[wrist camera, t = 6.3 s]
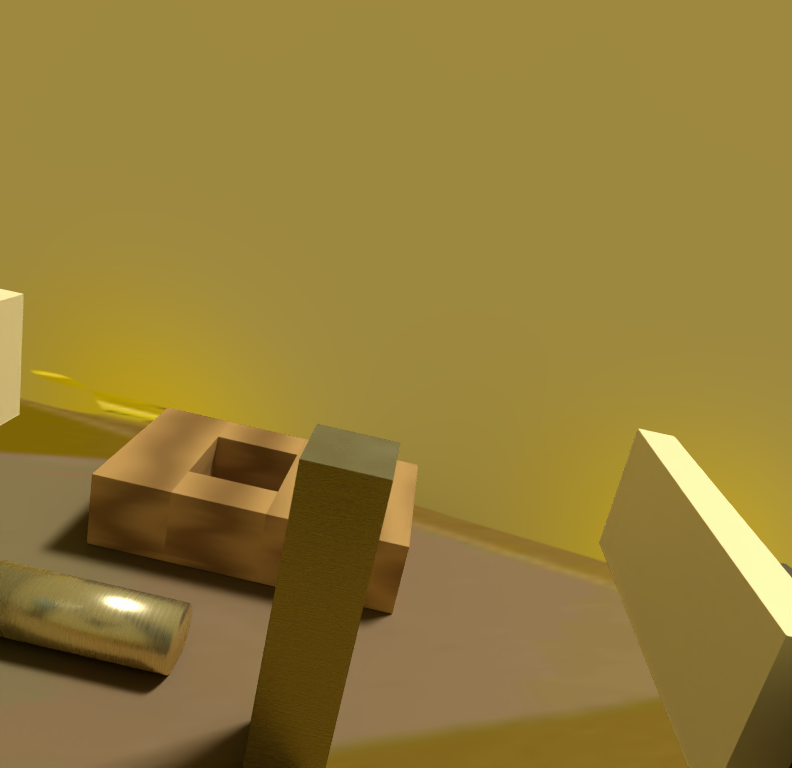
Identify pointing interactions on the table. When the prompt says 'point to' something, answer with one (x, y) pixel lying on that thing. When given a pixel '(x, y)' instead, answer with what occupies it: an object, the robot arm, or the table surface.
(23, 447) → the table surface
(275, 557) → the holder block
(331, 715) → the square bit
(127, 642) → the round bit
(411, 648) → the table surface
